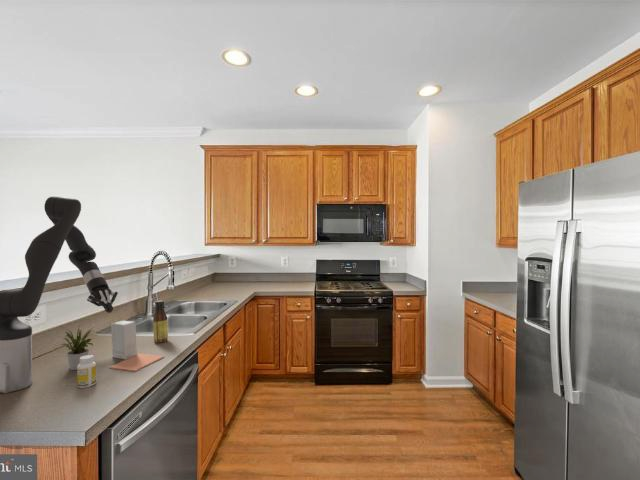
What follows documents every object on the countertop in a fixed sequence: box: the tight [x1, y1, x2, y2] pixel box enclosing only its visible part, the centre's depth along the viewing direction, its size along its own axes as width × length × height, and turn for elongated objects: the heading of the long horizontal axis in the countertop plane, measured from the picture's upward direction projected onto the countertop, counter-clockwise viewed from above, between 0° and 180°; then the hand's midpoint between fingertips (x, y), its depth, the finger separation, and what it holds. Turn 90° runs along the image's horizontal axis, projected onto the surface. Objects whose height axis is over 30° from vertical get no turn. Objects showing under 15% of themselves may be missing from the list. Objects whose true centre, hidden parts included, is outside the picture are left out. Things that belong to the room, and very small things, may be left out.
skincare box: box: [110, 319, 138, 360], centre depth 146 cm, size 8×6×15 cm
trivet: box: [109, 352, 165, 373], centre depth 140 cm, size 16×12×1 cm
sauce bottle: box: [152, 299, 169, 344], centre depth 168 cm, size 7×6×20 cm
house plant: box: [52, 325, 95, 371], centre depth 133 cm, size 14×14×16 cm
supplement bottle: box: [76, 354, 97, 389], centre depth 119 cm, size 5×5×10 cm
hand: (110, 311), depth 152 cm, fingers closed
